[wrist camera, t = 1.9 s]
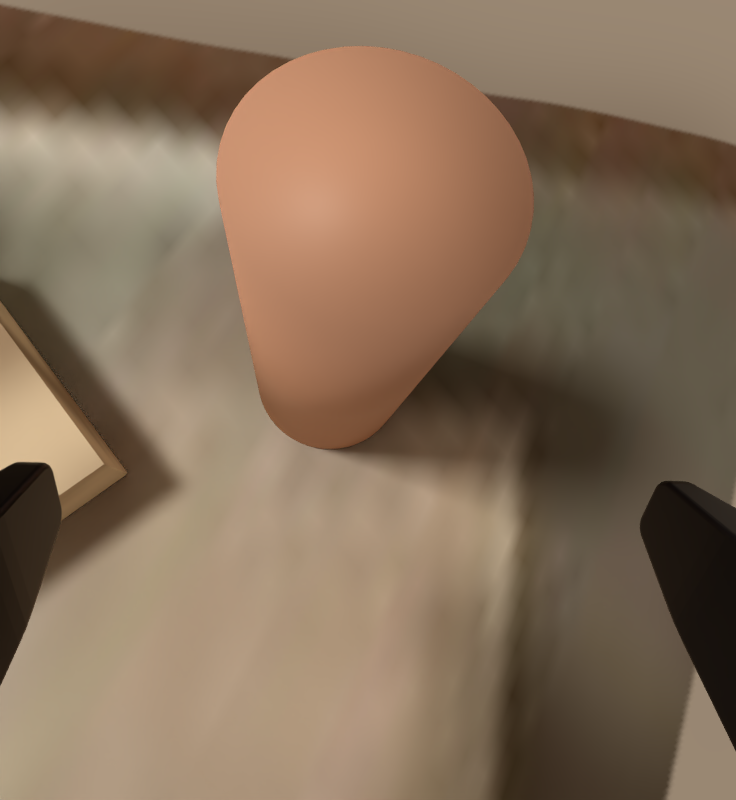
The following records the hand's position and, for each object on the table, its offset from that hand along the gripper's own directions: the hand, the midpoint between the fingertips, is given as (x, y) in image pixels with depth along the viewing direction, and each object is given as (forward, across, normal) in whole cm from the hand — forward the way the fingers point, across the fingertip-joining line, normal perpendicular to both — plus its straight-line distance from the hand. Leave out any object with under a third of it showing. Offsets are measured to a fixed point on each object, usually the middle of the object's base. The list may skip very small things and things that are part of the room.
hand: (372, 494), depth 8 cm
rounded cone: (+12, 0, +5) cm, 13 cm away
